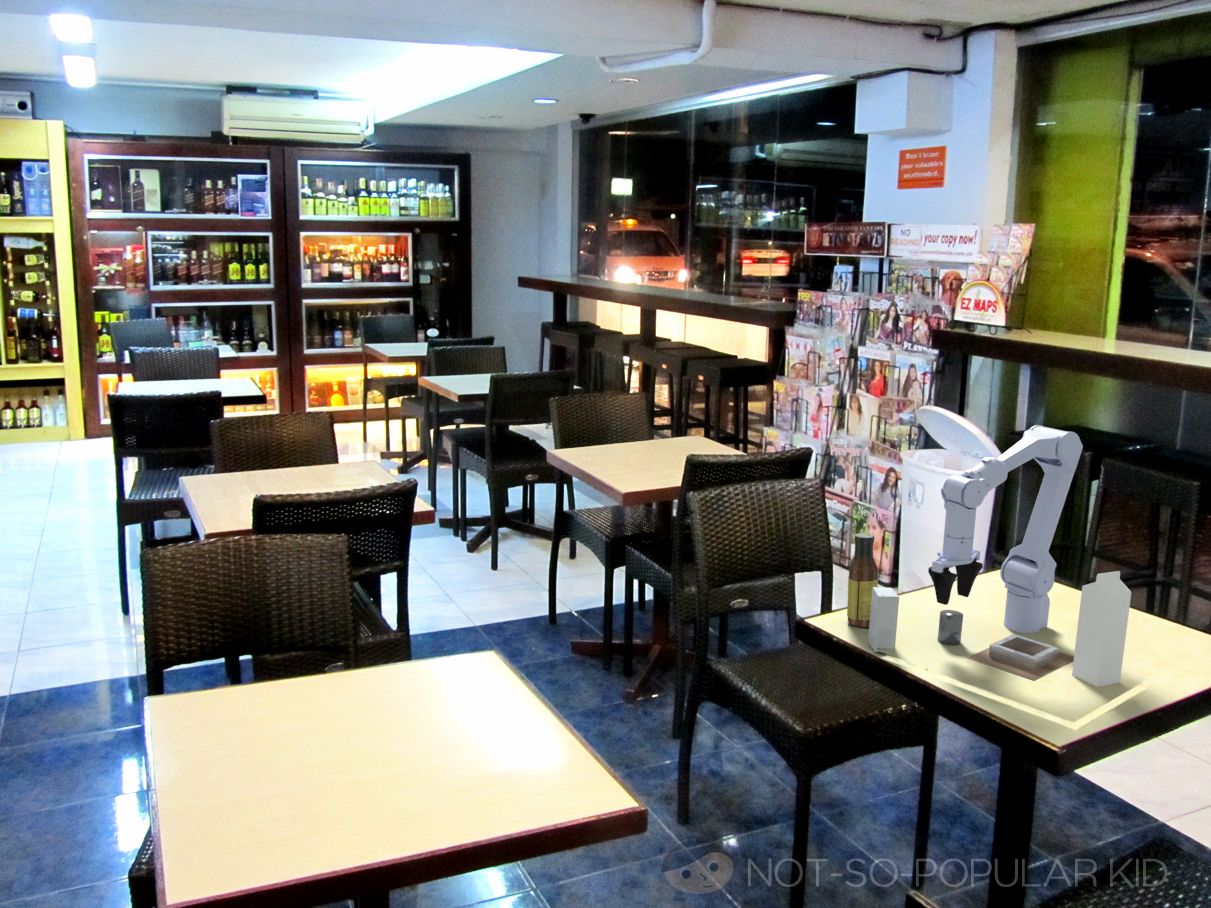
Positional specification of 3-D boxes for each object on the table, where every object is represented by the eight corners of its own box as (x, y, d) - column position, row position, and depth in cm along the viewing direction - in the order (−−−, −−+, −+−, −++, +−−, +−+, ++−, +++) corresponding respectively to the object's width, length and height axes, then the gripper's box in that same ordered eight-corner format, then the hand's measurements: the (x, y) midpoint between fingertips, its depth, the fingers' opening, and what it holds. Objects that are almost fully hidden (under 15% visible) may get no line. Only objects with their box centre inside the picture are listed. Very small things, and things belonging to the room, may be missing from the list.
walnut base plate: (1013, 641, 220) (1013, 636, 220) (1078, 662, 210) (1079, 657, 210) (966, 662, 209) (966, 657, 209) (1033, 685, 198) (1033, 680, 198)
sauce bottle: (879, 622, 230) (886, 534, 226) (870, 631, 224) (877, 541, 220) (850, 616, 233) (857, 529, 229) (840, 624, 228) (847, 535, 224)
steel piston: (945, 640, 220) (947, 608, 219) (964, 646, 217) (967, 614, 216) (932, 645, 217) (935, 612, 216) (952, 651, 214) (955, 619, 213)
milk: (1119, 687, 199) (1135, 575, 194) (1095, 692, 196) (1111, 579, 192) (1093, 675, 204) (1107, 566, 199) (1069, 679, 202) (1084, 569, 197)
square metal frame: (1013, 645, 216) (1014, 634, 215) (1057, 659, 209) (1059, 648, 208) (988, 656, 210) (989, 644, 209) (1033, 671, 203) (1035, 659, 202)
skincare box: (895, 653, 212) (899, 597, 210) (874, 653, 213) (878, 596, 210) (888, 642, 218) (892, 587, 216) (867, 641, 219) (871, 586, 216)
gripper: (960, 525, 220) (954, 587, 223) (920, 536, 211) (915, 601, 213) (991, 532, 215) (985, 596, 218) (952, 544, 206) (946, 611, 208)
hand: (952, 599), depth 215 cm, fingers open, 7 cm apart
